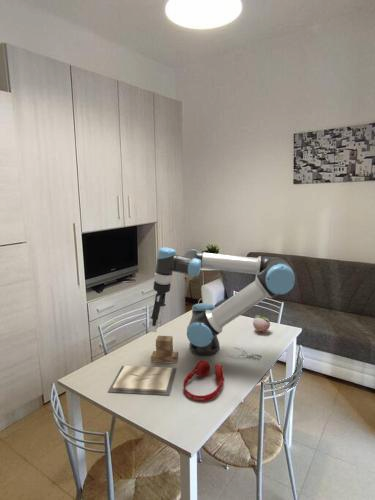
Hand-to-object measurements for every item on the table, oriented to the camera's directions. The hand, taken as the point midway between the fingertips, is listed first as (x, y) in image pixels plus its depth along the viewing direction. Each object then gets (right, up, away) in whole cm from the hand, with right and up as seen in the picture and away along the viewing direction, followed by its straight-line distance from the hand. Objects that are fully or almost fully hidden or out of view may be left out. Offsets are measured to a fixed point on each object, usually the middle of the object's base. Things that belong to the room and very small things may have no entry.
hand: (156, 325), depth 152 cm
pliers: (+42, -16, +6) cm, 46 cm away
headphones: (+22, -22, -17) cm, 35 cm away
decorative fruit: (+55, -11, +29) cm, 63 cm away
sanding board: (-4, -21, -12) cm, 24 cm away
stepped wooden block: (+4, -17, +4) cm, 18 cm away
